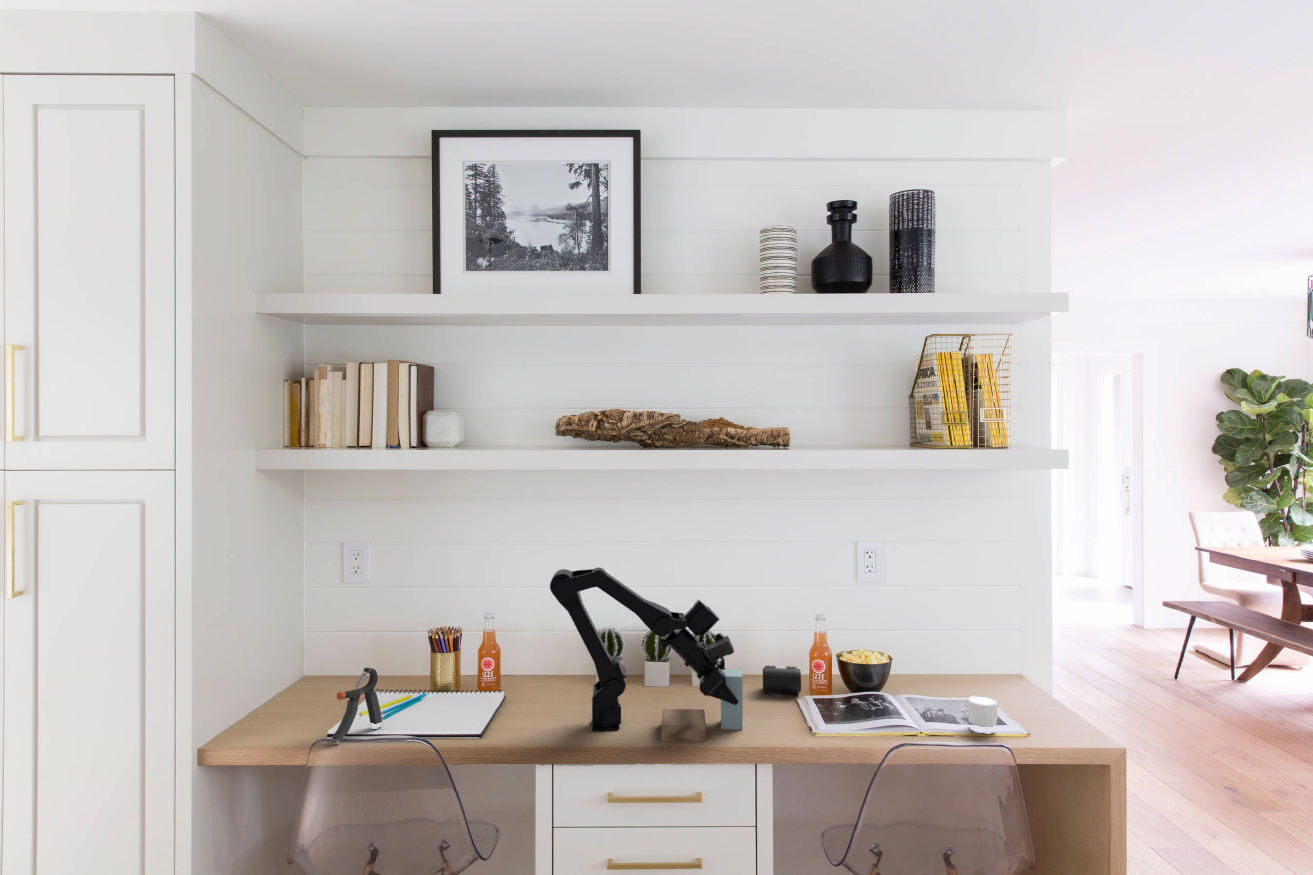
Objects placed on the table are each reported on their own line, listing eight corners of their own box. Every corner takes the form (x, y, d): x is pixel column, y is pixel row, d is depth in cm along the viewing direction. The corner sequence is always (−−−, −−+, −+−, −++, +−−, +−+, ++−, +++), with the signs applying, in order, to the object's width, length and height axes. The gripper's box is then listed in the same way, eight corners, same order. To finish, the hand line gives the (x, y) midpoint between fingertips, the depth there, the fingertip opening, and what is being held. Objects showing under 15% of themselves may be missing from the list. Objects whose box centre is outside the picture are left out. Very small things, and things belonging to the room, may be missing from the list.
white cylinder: (999, 727, 178) (999, 698, 178) (996, 737, 172) (996, 707, 172) (968, 722, 181) (968, 693, 181) (964, 731, 175) (964, 701, 175)
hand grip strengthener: (330, 744, 169) (330, 678, 168) (376, 726, 179) (376, 663, 179) (336, 747, 167) (336, 679, 167) (383, 728, 178) (383, 664, 178)
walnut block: (661, 742, 170) (661, 724, 170) (662, 725, 180) (662, 708, 180) (705, 743, 170) (705, 725, 170) (704, 725, 180) (704, 709, 180)
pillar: (721, 729, 177) (721, 676, 177) (720, 721, 182) (720, 669, 182) (742, 729, 177) (742, 676, 177) (741, 721, 182) (741, 670, 182)
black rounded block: (762, 696, 199) (762, 671, 199) (762, 687, 206) (762, 663, 206) (801, 698, 198) (801, 672, 198) (799, 689, 205) (799, 664, 205)
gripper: (714, 636, 170) (763, 686, 170) (713, 616, 189) (758, 661, 188) (679, 670, 171) (728, 720, 170) (682, 647, 190) (726, 692, 189)
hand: (736, 696), depth 179 cm, fingers open, 9 cm apart
